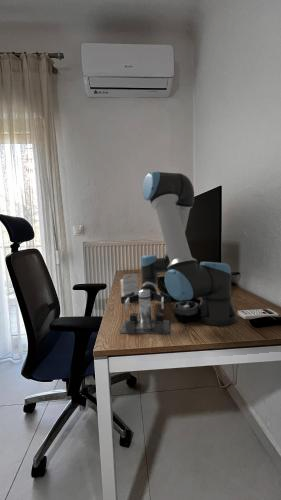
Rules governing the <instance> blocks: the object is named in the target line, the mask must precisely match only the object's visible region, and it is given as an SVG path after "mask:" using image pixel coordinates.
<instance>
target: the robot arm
mask: <svg viewBox="0 0 281 500" xmlns="http://www.w3.org/2000/svg"><path fill="white" fill-rule="evenodd" d="M194 189H195V188H194V185H193V183H192V181H191V179H190V178H189V177H188V176H187V175H185V174H183V173H180V172H179V173H178V172H163V171H162V172H161V171H158V170H157V171H151V172H148V173H147V175H145V177H144V180H143V183H142V196H143V199H144V200H145V201H148V202H150V205H151V208H153V209H155V210H156V214H157V219H158V222H159V225H160V229H161V234H162V236H163V241H164V245H165V254H164V257H158V258H157V255H155V254H146V255H145V254H144V255H142V256H141V260H140V262H141V263H140V267H141V268H140V269H141V284H142V285H141V287H140V289H149V290H150V302H152V301H153V302H155V301H156V302H160V304H161V305H160V306H161V310H164V308H165V306H164V305H168V303H169V304H171V303H172V298H173V299H174V300H176V301H181V302H183V301H190V300H192V299H198V298H200V303H199V311H200V312H199V317H200V318H199V319H200V320H198V321H199V323H200V322H201V323H203V324H205V325H210V326H216V327H217V326H218V327H221V326H230V325H233V324H235V323H236V322H237V321H238V320H237V319H238V318H237V313H236V309H235V308H234V304H233V302H232V272H231V266H230V264H228V263H225V262H224V263H223V262H215V261H214V262H213V261H200V263H199V264H198V260H197V259H196V258H194V257H193V256H192V253H191V251H190V250H191V249H190V246H189V243H188V239H187V236H186V230H187V225H188V220H189V216H190V211H191V209H192V208H193V206H194V202H195V190H194ZM164 273H165V274H164ZM158 274H164V285H165V288H166V290H167V292H168V294H167V293H165V292H164V291H162V290H161V291H159V292H158V289H159V288H158V287H159V284H158ZM138 296H139V294H138V293H137V294H135V292H132V293H130V294H127V295H125V296H123V297H122V296H121V297H120V304H122V305H124V310H128V309H129V306H130V304H131V303H135V302H139V297H138Z"/></svg>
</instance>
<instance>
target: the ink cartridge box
mask: <svg viewBox="0 0 281 500" xmlns="http://www.w3.org/2000/svg"><path fill="white" fill-rule="evenodd" d="M138 290H139V279H138V274H137V273H135V272H134V273H127V274H123V275H122V279H120V293H121V297H123V296H125V295H127V294H130V293H132V292H135V294H137V293H138Z"/></svg>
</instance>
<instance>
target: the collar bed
mask: <svg viewBox="0 0 281 500" xmlns="http://www.w3.org/2000/svg"><path fill="white" fill-rule="evenodd" d="M170 331H171V330H170V320H169V319H164V312H156V313H155V319H154V320H152V319H151V327H149V328H141V327H140V319H139V314H138V313H137V312H135V313H134V312H131V313H130V314H129V320H125V321H124V323H123V325H122V328H121V330H120V331H119V335H120V334H123V335H124V334H128V335H129V334H137V335H138V334H170Z"/></svg>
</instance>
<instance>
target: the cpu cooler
mask: <svg viewBox="0 0 281 500" xmlns="http://www.w3.org/2000/svg"><path fill="white" fill-rule="evenodd" d="M199 305H200V303H198V302H196V301H190V300H186V301H181V302H176V303H173V310H172V311H173V317H174V318H175V319H176V321H177V322H178V323H179V324H180V323H181V324H184V323H190V322H193V321H194V322H195V321H199V320H200V319H199V318H200V317H199V312H200V311H199Z"/></svg>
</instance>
